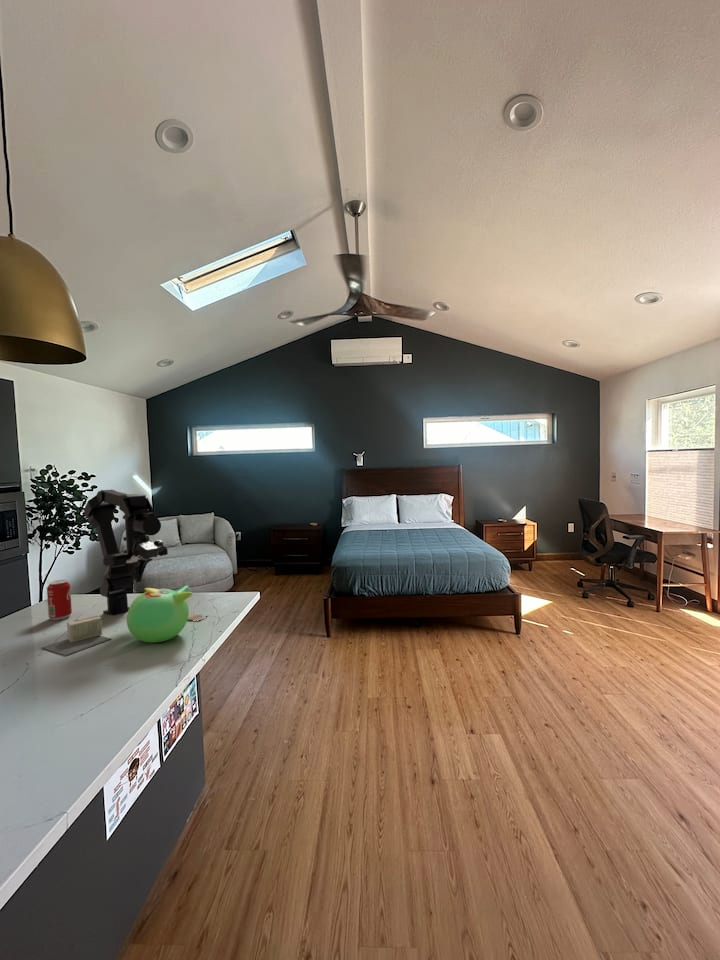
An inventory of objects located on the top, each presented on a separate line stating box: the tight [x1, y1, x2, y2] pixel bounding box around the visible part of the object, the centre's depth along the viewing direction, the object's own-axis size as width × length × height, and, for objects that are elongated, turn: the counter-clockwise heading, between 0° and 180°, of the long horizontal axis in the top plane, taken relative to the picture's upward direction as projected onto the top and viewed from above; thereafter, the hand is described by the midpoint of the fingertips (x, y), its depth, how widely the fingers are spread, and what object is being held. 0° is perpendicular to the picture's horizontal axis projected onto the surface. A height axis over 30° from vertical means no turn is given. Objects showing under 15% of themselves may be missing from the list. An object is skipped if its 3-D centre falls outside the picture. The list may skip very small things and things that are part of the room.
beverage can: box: [46, 579, 73, 621], centre depth 145 cm, size 6×6×12 cm
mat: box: [41, 635, 112, 657], centre depth 122 cm, size 12×12×1 cm
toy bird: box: [126, 585, 193, 644], centre depth 124 cm, size 18×17×15 cm
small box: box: [66, 614, 103, 643], centre depth 126 cm, size 5×4×8 cm
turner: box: [188, 613, 203, 622], centre depth 141 cm, size 14×5×1 cm, turn 76°
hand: (138, 582), depth 141 cm, fingers closed
